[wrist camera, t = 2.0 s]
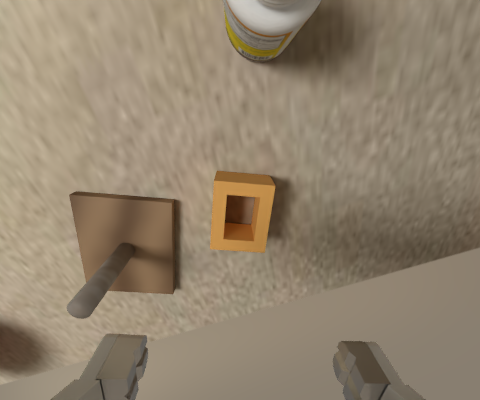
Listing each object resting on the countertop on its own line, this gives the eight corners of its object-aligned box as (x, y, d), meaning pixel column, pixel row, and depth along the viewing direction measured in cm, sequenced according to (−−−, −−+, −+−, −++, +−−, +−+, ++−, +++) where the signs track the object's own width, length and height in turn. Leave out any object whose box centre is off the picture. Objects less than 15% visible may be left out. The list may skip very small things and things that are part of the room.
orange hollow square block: (269, 175, 23) (275, 185, 19) (260, 234, 25) (264, 252, 22) (216, 170, 22) (214, 180, 19) (213, 231, 25) (210, 249, 22)
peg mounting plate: (174, 199, 23) (141, 247, 15) (175, 288, 28) (150, 363, 19) (76, 191, 23) (-16, 237, 14) (92, 283, 27) (29, 359, 19)
